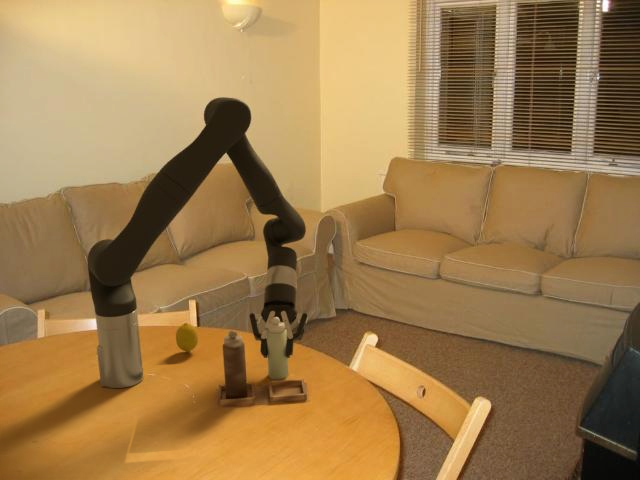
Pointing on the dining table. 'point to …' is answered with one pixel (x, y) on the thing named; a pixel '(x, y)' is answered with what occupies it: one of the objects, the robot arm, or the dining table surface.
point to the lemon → (187, 337)
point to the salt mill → (277, 349)
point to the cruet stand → (266, 394)
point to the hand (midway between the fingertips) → (276, 356)
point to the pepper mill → (234, 366)
